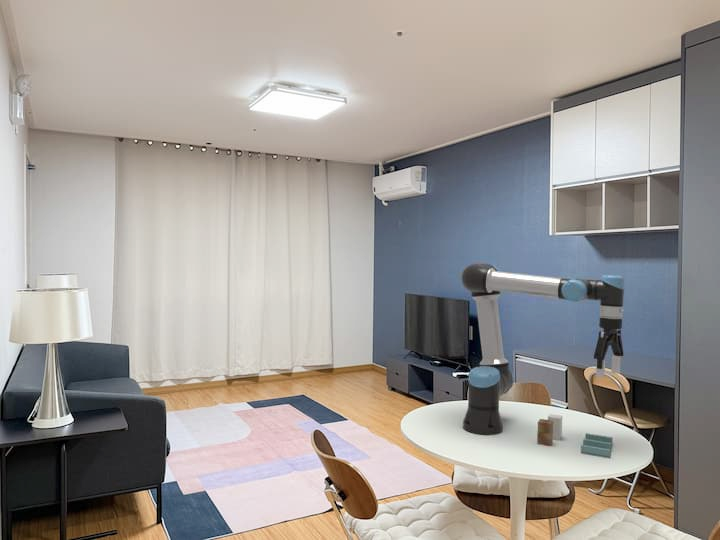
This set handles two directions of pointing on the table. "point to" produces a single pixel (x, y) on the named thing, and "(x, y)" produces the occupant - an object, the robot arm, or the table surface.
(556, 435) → the white rectangular block
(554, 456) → the table surface
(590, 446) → the teal-ribbed grey panel
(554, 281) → the robot arm
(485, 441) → the table surface
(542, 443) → the walnut plug
